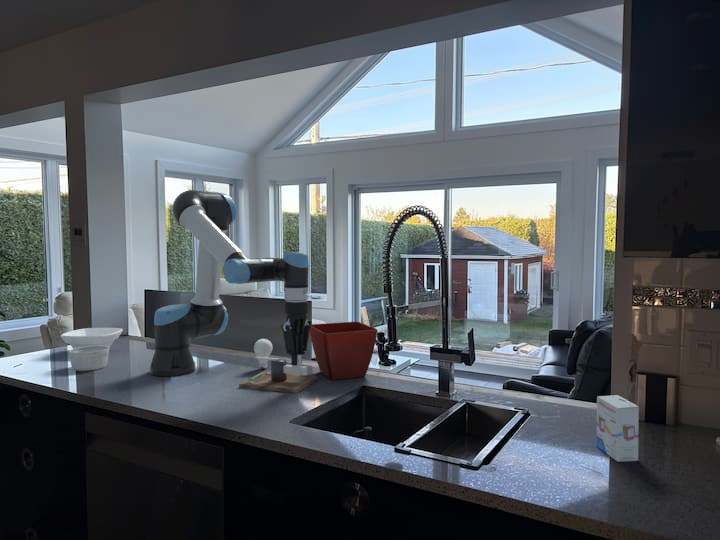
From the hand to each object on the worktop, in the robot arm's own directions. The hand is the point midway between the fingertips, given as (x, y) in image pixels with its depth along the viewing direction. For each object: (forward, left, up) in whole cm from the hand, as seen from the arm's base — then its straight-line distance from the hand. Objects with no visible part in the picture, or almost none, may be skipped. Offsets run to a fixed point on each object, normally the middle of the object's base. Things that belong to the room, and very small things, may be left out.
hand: (296, 374), depth 162 cm
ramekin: (-83, +1, -4) cm, 84 cm away
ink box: (+88, -27, -4) cm, 92 cm away
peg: (-7, +2, -3) cm, 7 cm away
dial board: (-7, +2, -4) cm, 9 cm away
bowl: (-103, +23, -4) cm, 106 cm away
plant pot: (+9, +19, -4) cm, 22 cm away
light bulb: (-21, +18, -4) cm, 28 cm away
